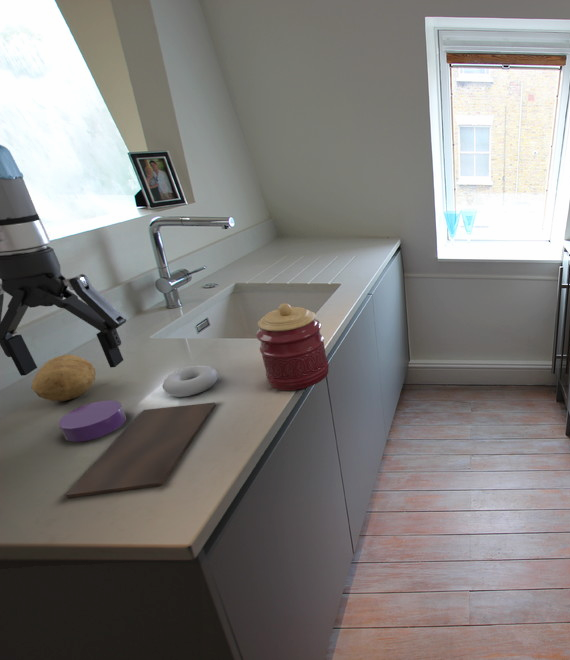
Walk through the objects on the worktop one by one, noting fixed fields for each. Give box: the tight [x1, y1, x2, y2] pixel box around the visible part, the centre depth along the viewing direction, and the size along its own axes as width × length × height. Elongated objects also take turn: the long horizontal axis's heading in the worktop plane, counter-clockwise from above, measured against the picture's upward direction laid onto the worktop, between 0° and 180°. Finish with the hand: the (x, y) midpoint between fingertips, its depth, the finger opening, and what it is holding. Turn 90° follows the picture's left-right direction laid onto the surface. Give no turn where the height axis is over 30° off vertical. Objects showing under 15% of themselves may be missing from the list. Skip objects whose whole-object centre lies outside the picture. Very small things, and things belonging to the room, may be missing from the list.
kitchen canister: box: [255, 302, 330, 391], centre depth 97 cm, size 13×13×18 cm
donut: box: [162, 364, 218, 398], centre depth 96 cm, size 10×4×10 cm
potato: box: [31, 354, 97, 402], centre depth 92 cm, size 10×14×8 cm
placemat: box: [65, 402, 217, 499], centre depth 79 cm, size 13×23×1 cm, turn 11°
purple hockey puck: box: [58, 399, 127, 443], centre depth 83 cm, size 9×9×3 cm
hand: (73, 367), depth 78 cm, fingers open, 13 cm apart
